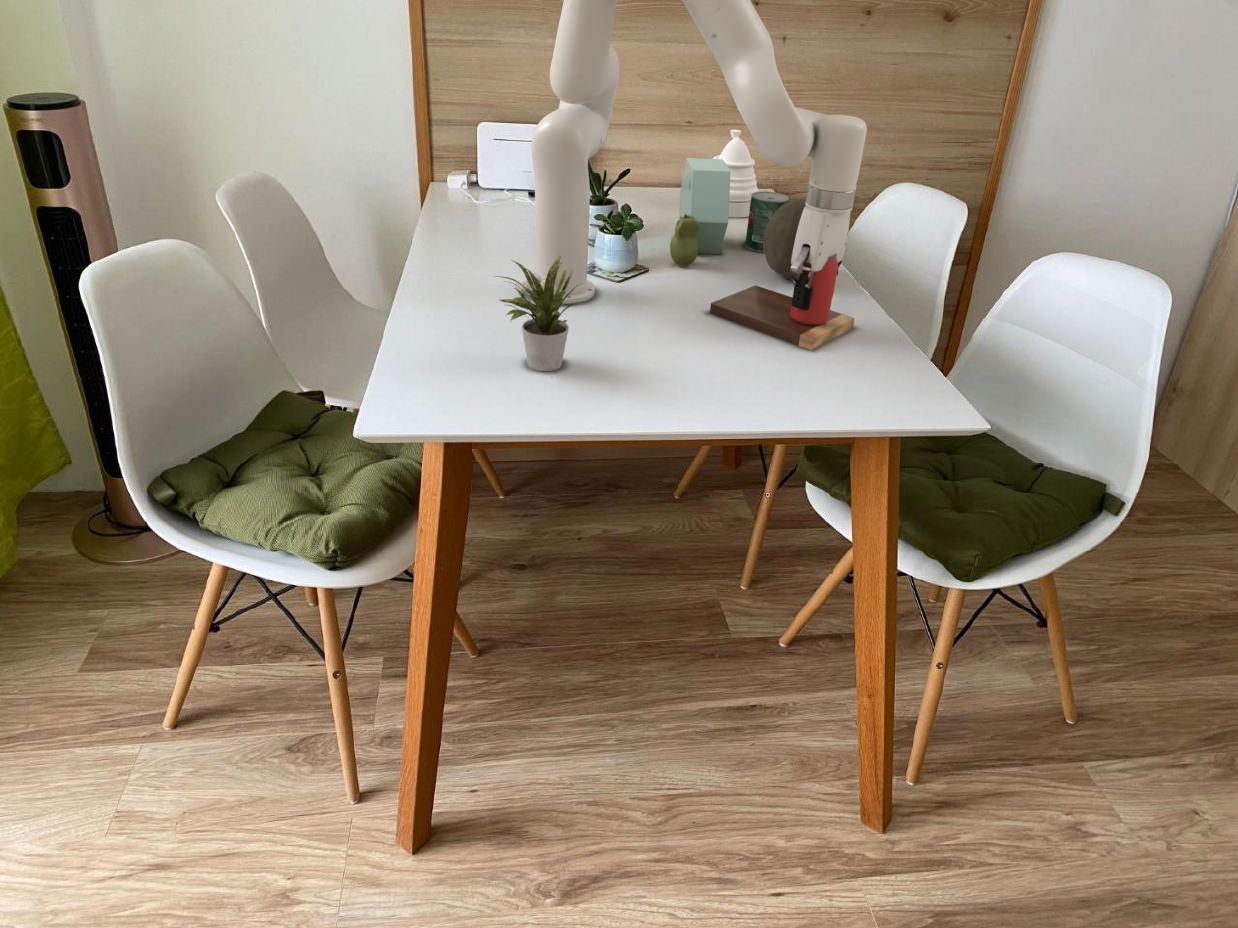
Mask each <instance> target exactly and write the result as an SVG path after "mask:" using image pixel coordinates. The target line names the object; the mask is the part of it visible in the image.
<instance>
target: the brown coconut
mask: <svg viewBox="0 0 1238 928" xmlns="http://www.w3.org/2000/svg"><path fill="white" fill-rule="evenodd" d="M805 202H806V199H804V198H799V199H794V200H790V201H788V202H787V203H785V204H784V205H782V206H781V207H780V208H779V209H778V210H777V211H776V212H775V213H774V214H773V216H772V217H771V219H770V220H769V222H768V224H767V226H766V230H765V233H764V238H763V249H764V253H763V254H764V258H765V261H766V263H767V265H768V267H769V268H770V269H771V270H772V271H774V273H776V274H778V275H780V276H782V277H783V278H785V279H786V280H789V281H794V279H793V275H792V272H791V266H792V264H791V258H792V253H793V247H794V243H795V238H796V234H797V229H798V226H799V222H800V219H801V215H802V212H803V210H804V207H806V205H805Z"/></svg>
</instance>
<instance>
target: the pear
mask: <svg viewBox="0 0 1238 928" xmlns="http://www.w3.org/2000/svg"><path fill="white" fill-rule="evenodd" d="M679 219H680V220H679ZM679 219H678V220H677V221H676V224H675V227H674V234H673V236H672V237H671V241H670V244H669V251H670V257H671V260H672V261H673V262H674V263H675V264H676V265H678V266H681V267H685V266H686V267H687V266H690V265H691V264H693V263H694V262H695V261H696V260H697V257H698V254H699V253H698V242H697V238H696V233H697V232H698V230H699V225H698V222H697V220H695V219H694V217H693V216H690V215H686V214H685V215H684V217H681V216H680V215H679Z"/></svg>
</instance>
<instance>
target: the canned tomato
mask: <svg viewBox="0 0 1238 928" xmlns="http://www.w3.org/2000/svg"><path fill="white" fill-rule="evenodd" d="M789 200H790V198H789V196H788V195H786V194H783V193H780V192H775V191H767V190H765V191H764V190H763V191H758V192H754V193H752V194H751V203H750V210H749V216H748V217H747V218H748V219H747V228H746V232H745V233H746V234H745V243H744V247H745V248H747V249H748V250H750V251H753V252H755V253H756V252H758V253H763V254H764V249H763V238H764V233H765V230H766V226H767V224H768V222H769V220H770V219H771V217H772V216H773V214H774V213H775V212H776V211H777V210H778V209H779V208H780V207H781V206H782V205H784V204H785V203H787V202H789Z"/></svg>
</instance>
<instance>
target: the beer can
mask: <svg viewBox="0 0 1238 928" xmlns="http://www.w3.org/2000/svg"><path fill="white" fill-rule="evenodd" d="M836 256H837V254H835V255H834V256H830V257H828V260H827V261H826V263H825V264H824V266H823V268H822V269H821V270H819V271H817V272H816V274H815V277H814V279H813V282H812V284H811V287H812V288H813V290H812V296H811V302H810V308H809V310H807V311H805V310H802V309H799V308H796V307H793V306H792V305H791V311H790V316H791V317H792V319H793V320H795V321H796V322H799V323H801V324H805V325H821V324H823V323H825V322H826V321H827V320H828V318H829V312H830V310H831V307H832V300H833V297H832V296H834V292H835V287H834V285H835V286H836V281H835V280H837V276H836V274H837V269H838V270H839V268H838V262H837V257H836ZM804 266H805V267H808V268H811V266H812V264H810V263H805V264H804ZM809 273H810V272H807V271H804V270H803V274H805V276H806V278H808V275H809ZM833 291H834V292H833Z"/></svg>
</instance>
